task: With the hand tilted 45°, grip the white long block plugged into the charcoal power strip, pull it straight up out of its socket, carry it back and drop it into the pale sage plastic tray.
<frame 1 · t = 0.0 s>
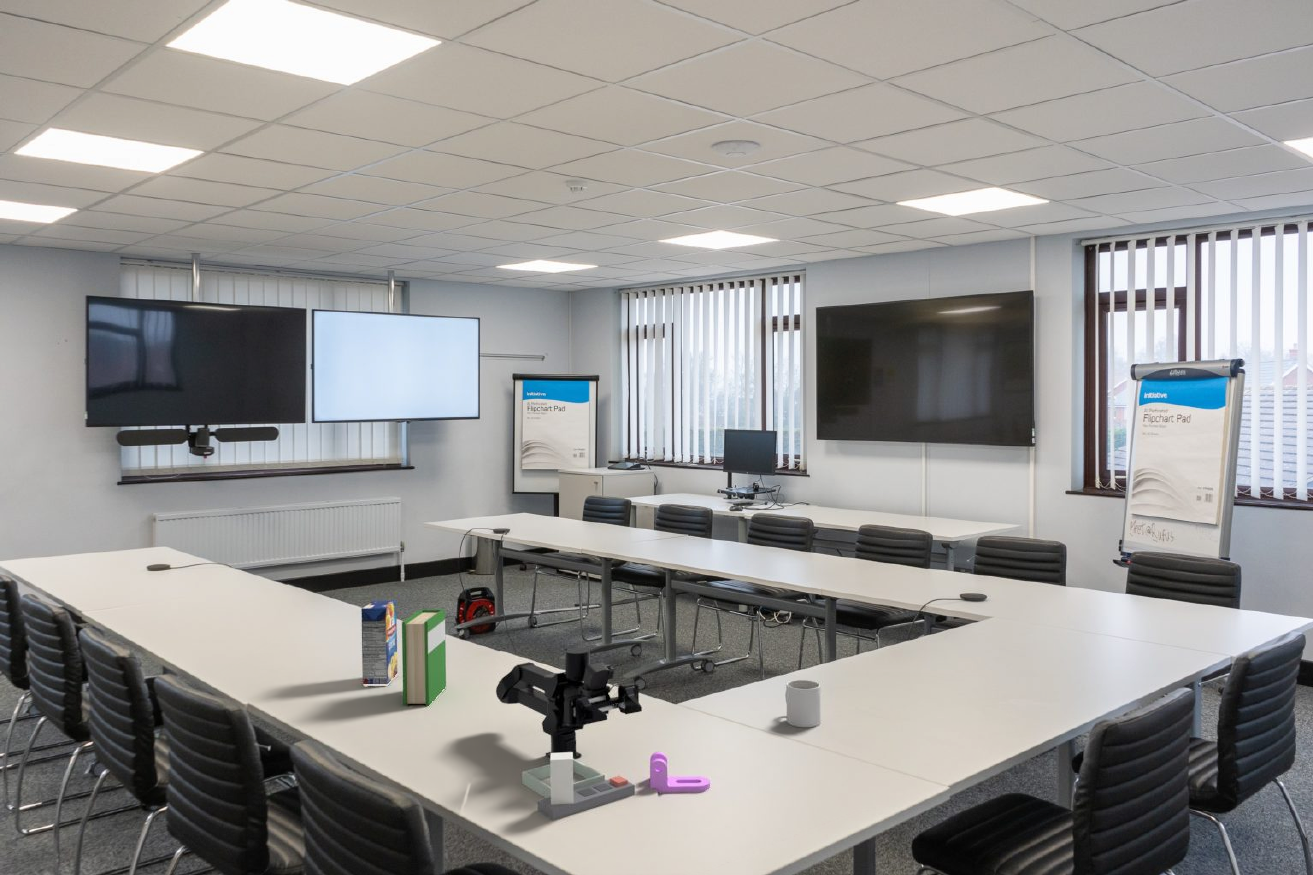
hand: (624, 713, 199), 17 cm above the table, tool horizontal, fingers open, 9 cm apart
mug: (802, 721, 243), on the table
white long block: (562, 809, 187), point 1 cm above the table, touching power strip
bracket: (680, 788, 200), on the table
tray: (563, 789, 200), on the table
hardback book: (425, 697, 269), on the table
juice carton: (380, 681, 286), on the table
power strip: (587, 806, 190), on the table
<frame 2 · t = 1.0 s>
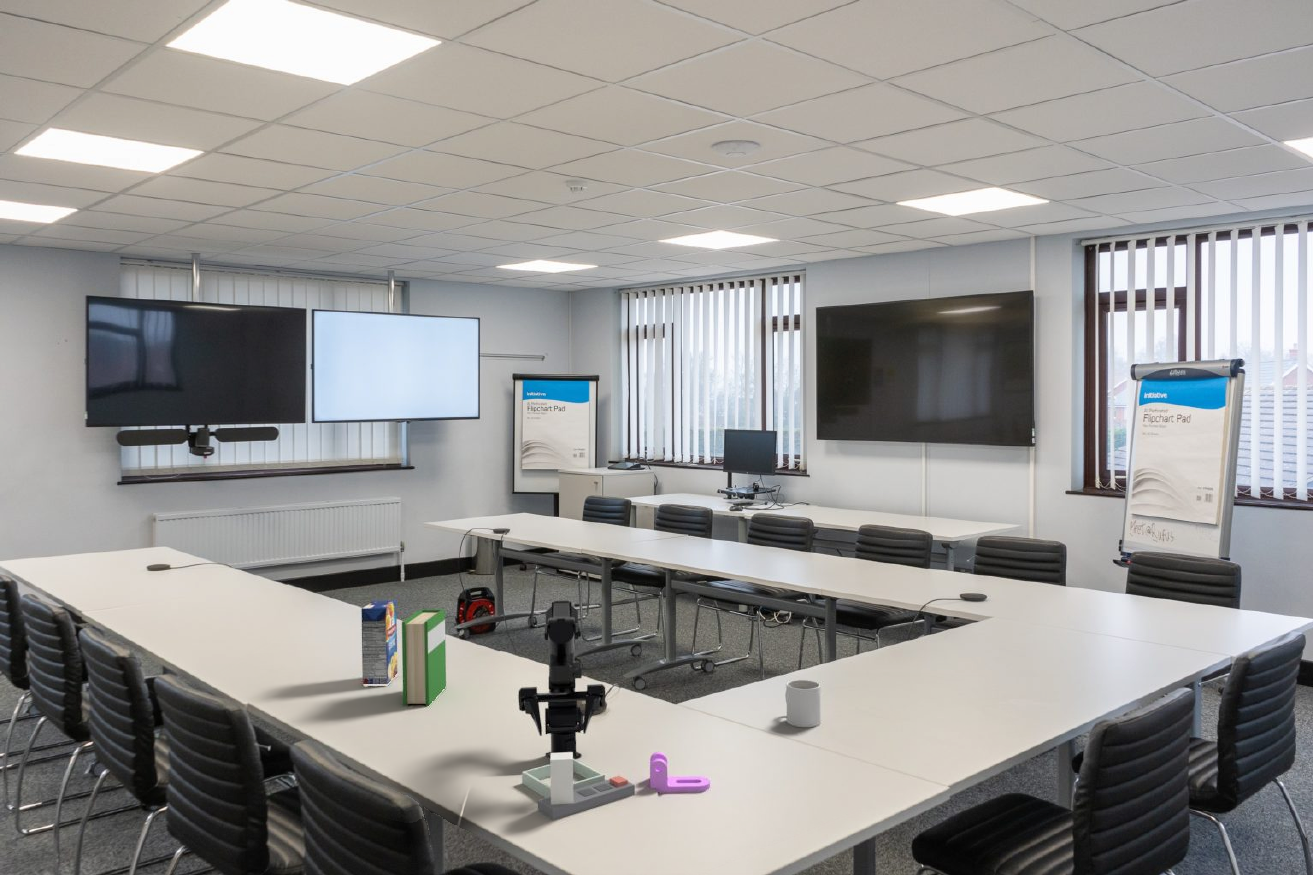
hand: (562, 733, 194), 14 cm above the table, tool tilted 45°, fingers open, 9 cm apart
nothing on the table moved.
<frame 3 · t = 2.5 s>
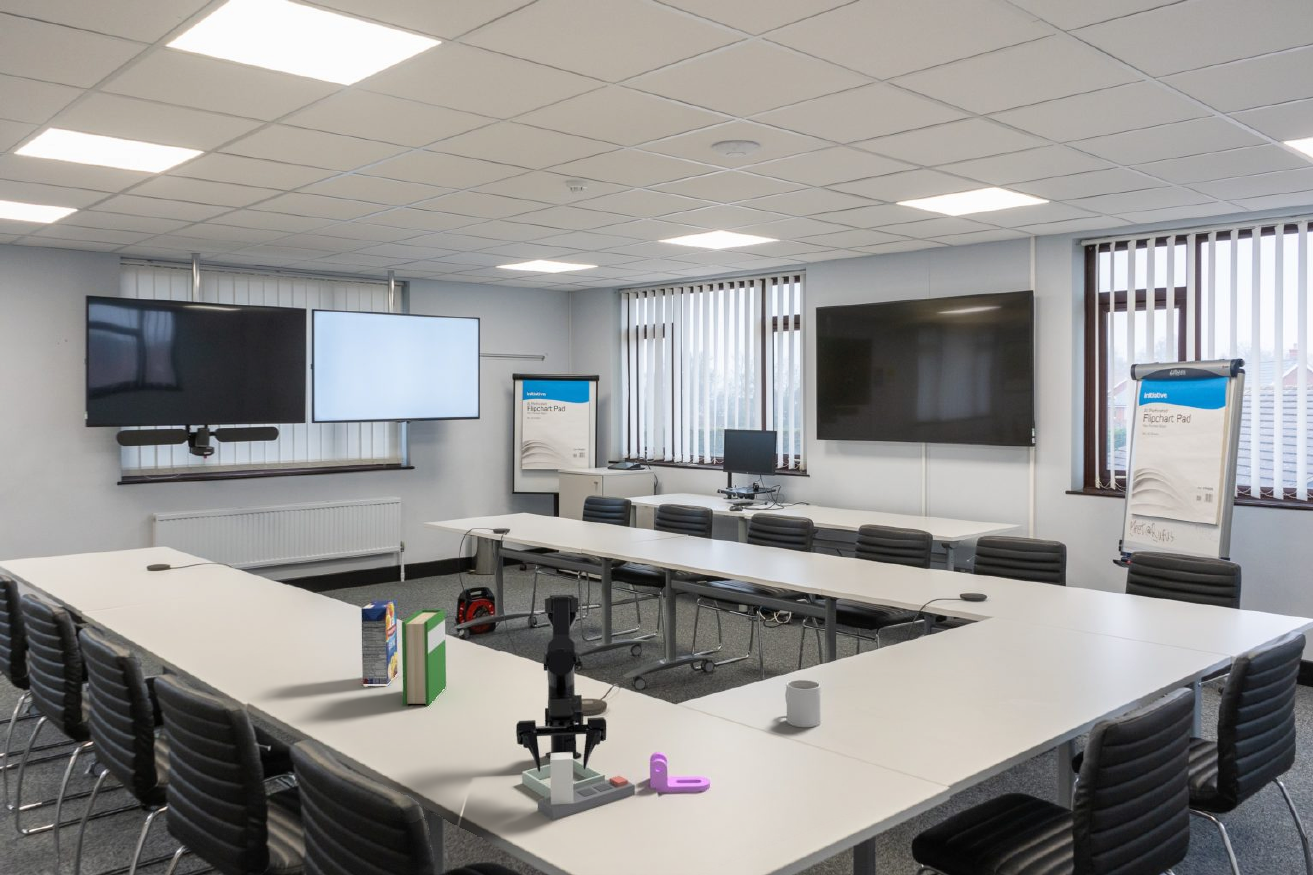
hand: (561, 769, 188), 9 cm above the table, tool tilted 45°, fingers open, 9 cm apart
nothing on the table moved.
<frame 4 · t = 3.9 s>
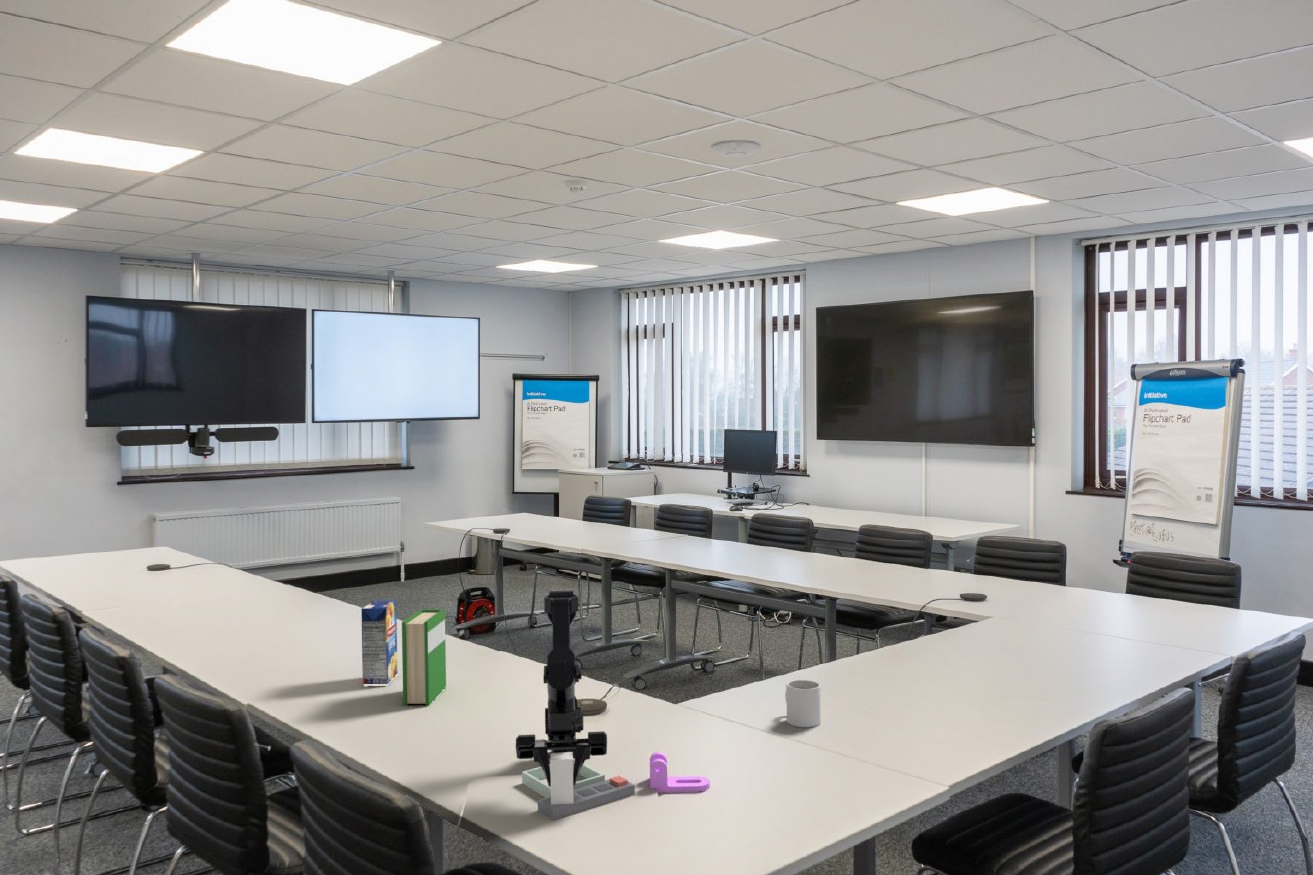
hand: (561, 785, 185), 7 cm above the table, tool tilted 45°, fingers closed on white long block, 4 cm apart
white long block: (562, 809, 187), point 1 cm above the table, touching gripper, power strip
everything else where it was.
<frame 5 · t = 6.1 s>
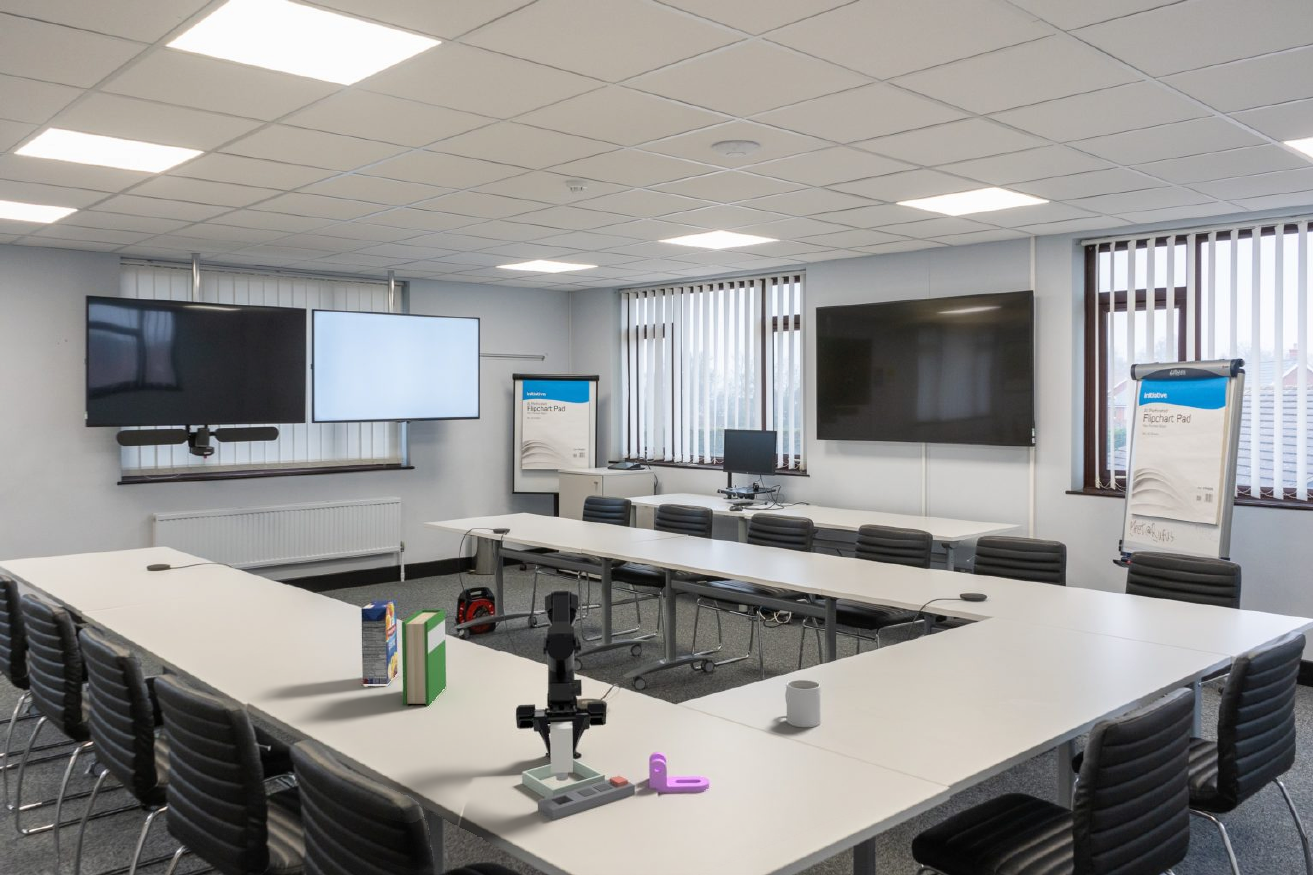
hand: (561, 753, 187), 12 cm above the table, tool tilted 45°, fingers closed on white long block, 4 cm apart
white long block: (562, 778, 189), point 7 cm above the table, touching gripper
everything else where it was.
when the fingers open (8 cm above the table, at t = 8.2 s): white long block drops 2 cm, resting on tray.
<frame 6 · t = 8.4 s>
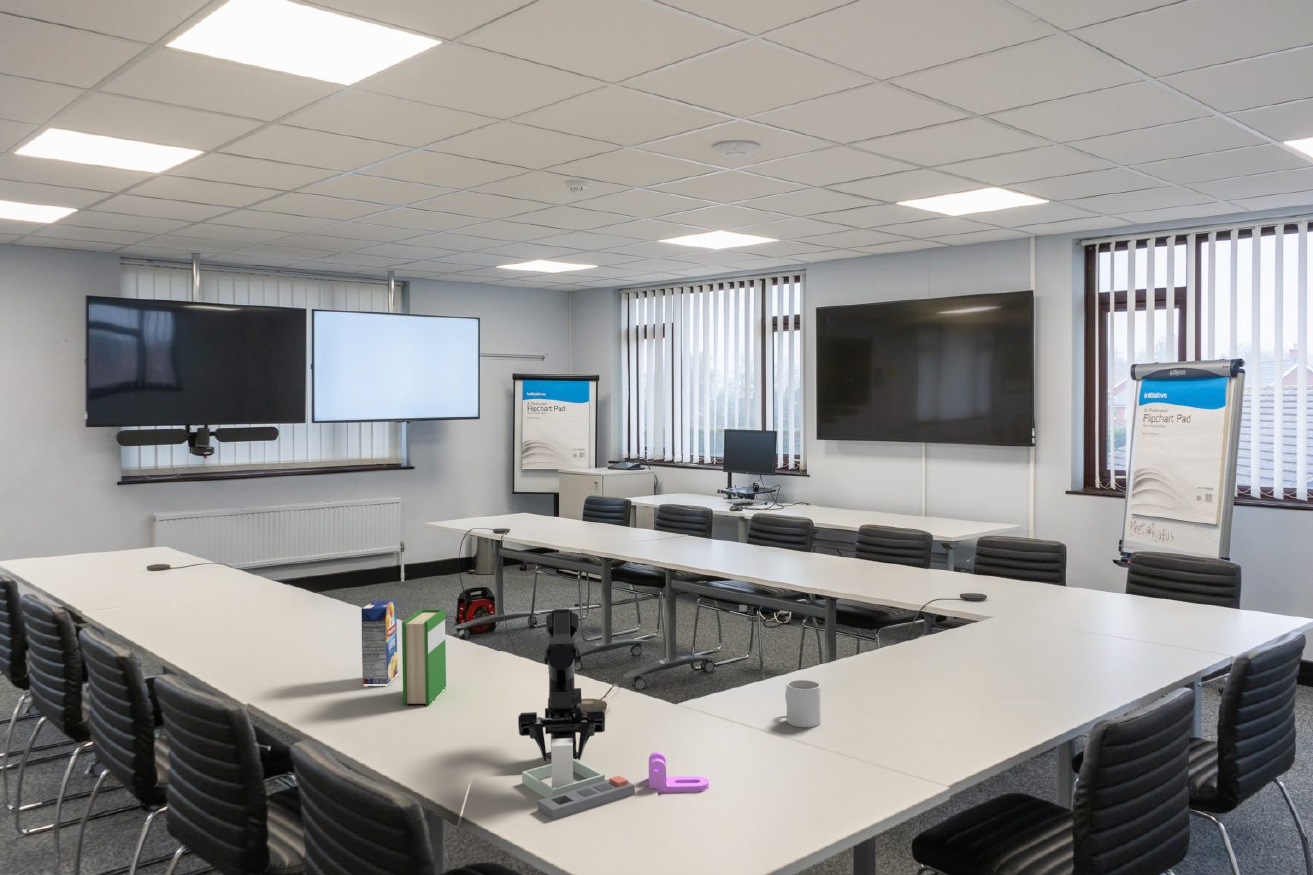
hand: (562, 759, 195), 8 cm above the table, tool tilted 45°, fingers open, 7 cm apart
white long block: (562, 792, 197), point 1 cm above the table, touching tray
everything else where it was.
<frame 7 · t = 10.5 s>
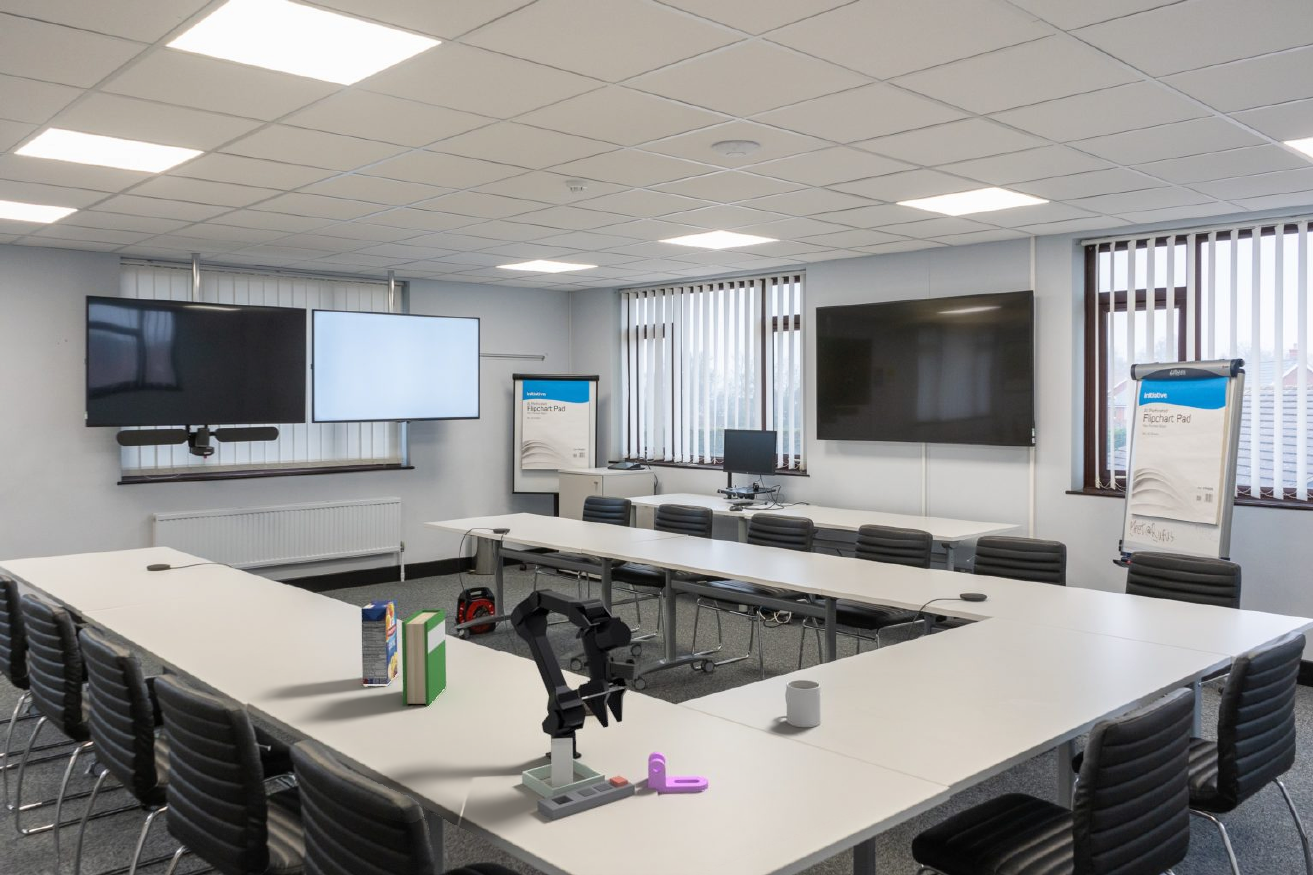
hand: (613, 724, 205), 12 cm above the table, tool tilted 20°, fingers open, 9 cm apart
nothing on the table moved.
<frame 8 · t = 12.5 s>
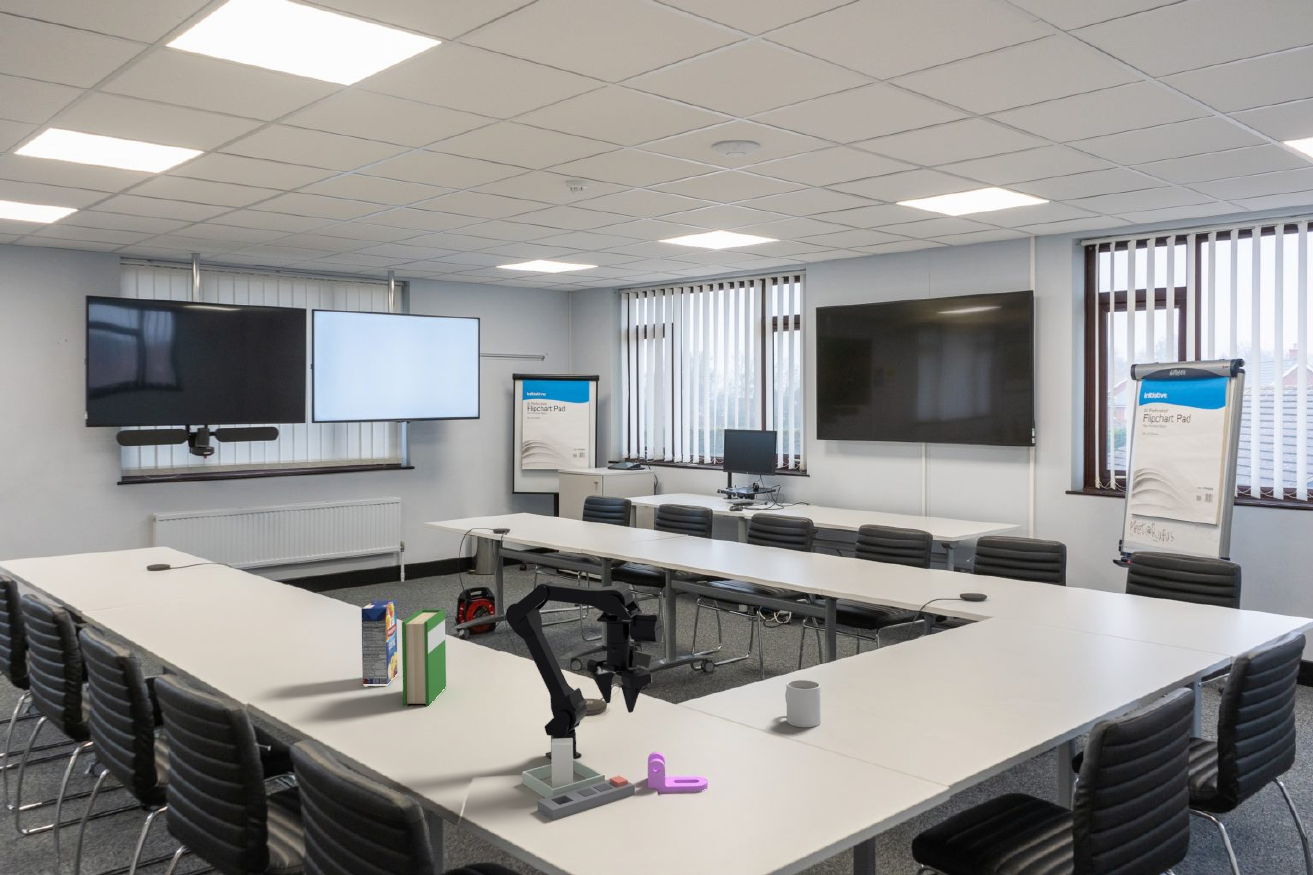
hand: (619, 707, 215), 13 cm above the table, tool pointing down, fingers open, 9 cm apart
nothing on the table moved.
at the end: white long block inside the target area on the tray (3.0 cm from its centre), point 0.5 cm above the tray's base; white long block touching tray; the gripper is holding nothing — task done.
